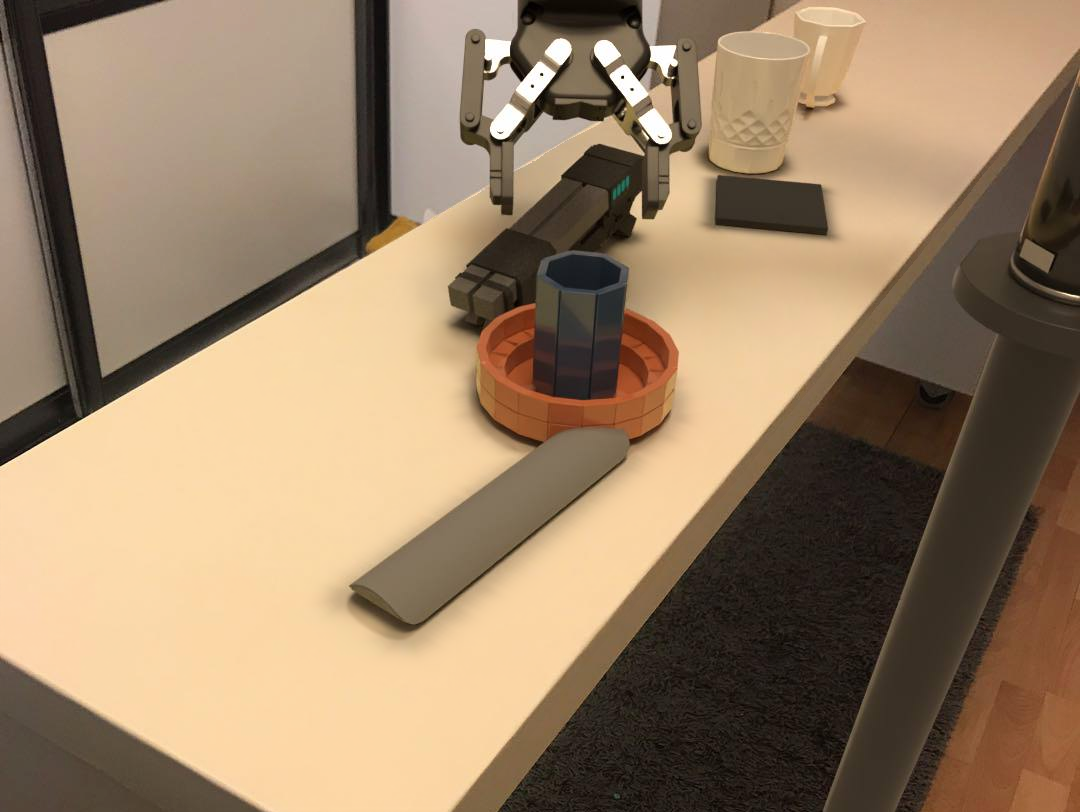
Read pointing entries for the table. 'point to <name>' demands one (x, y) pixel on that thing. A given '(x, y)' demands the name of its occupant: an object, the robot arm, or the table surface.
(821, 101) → the cup
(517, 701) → the table surface
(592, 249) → the gun
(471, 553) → the gray half cylinder
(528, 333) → the big bowl
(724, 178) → the mat
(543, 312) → the octagonal grey canister
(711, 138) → the white cup
